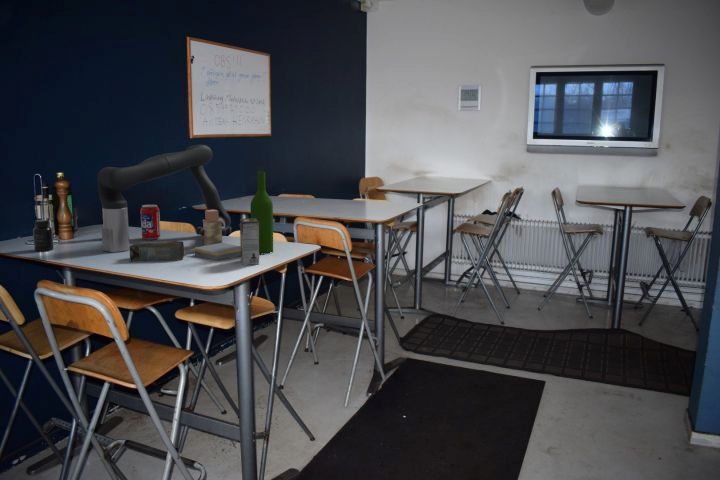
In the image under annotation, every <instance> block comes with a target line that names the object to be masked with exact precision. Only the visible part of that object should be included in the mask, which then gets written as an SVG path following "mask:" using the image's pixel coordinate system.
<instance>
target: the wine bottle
mask: <svg viewBox="0 0 720 480" xmlns="http://www.w3.org/2000/svg"><path fill="white" fill-rule="evenodd" d="M250 218H257V220H258V222H259V253H269V254H271V253H270V252H272V253H274V205H273V200H272V199H271V197H270V196H269V194H268V193H267V191H266V172H265V171H257V191H256V193H255V194H254V196H253V198H252V199H251V201H250Z"/></svg>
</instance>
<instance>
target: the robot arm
mask: <svg viewBox="0 0 720 480" xmlns="http://www.w3.org/2000/svg"><path fill="white" fill-rule="evenodd" d="M212 159H213V151H212V149H211V147H209V146H208V145H206V144H201V143H200V144H195V145H189V146H188V147H187V148H186V149H185V150H184V151H176V152H169V153H162V154H158V155H155V156H151V157H148V158H146V159H145V160H143V161H141V162H140V163H137V164H136V165H131V166H126V167H114V166H107V167H103V168H102V169H101V170H99V172H98V174H97V175H98V176H97V189H98V195H99V197H98V198H99V200H100V202H101V207H102V220H103V221H102V222H103V225H104V227H103V226H102V227H101V241H102V244H101V245H102V251H104V252H109V253H117V252H125V251H126V252H127V251H130V250H129V247H130V246H131V244H130V234H129V232H130V230H129V215H128V213H129V212H128V202H127V200H126V199H125V198H124V196H123V194H122V191H124V190H126V189H129V188H132V187H134V186H136V185H138V184H140V183H144V182H149V181H153V180H157V179H161V178H165V177H169V176H171V175H173V174H177V173H178V172H181V171H183V170H186V169H188V168H189V169H190V171H191V173H192V176H193V177H194V180H195V181H196V184H197V185H198V186H197V187H199V190H200V192H201V195H202V198H203V201H204V204H205V207H206V210H218V215H219V220H222V221H221V227H222V237H224V236H225V235H226V234H227V235H231V234H232V226H231V224H232V223H231V222H232V220H231V219H232V218H231V217H230V215H229V213H228V212H227V209H225V207H224V205H223V204H222V200H221V197H220V195H219V192H218V189H217V188H216V186H215V185H214V183H213V182H212V180H211V179H210V178H209V176H208V175H207V173H206V171H205V168H204V166H205V165H208V164H209V163H210V162H211V161H212ZM196 235H198V236H199V235H200V236H202V237H204V228H203V227H201V226H197V228H196Z"/></svg>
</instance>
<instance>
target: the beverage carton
mask: <svg viewBox="0 0 720 480" xmlns="http://www.w3.org/2000/svg"><path fill="white" fill-rule="evenodd" d="M129 246H130V247H129V250H128V251H129V261H130V262H131V263H132V262H133V263H134V262H135V263H136V262H157V261H158V262H163V261H183V260H184V259H183V258H184V257H185V246H184V241H178V240H174V241H173V240H172V241H163V242H160V241H159V242H135V243H134V242H133V243H131V244H130V245H129Z"/></svg>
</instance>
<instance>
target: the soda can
mask: <svg viewBox="0 0 720 480" xmlns="http://www.w3.org/2000/svg"><path fill="white" fill-rule="evenodd" d="M160 218H161V216H160V208H159V207H158V205H157V204H144V205H143V204H142V205H141V208H140V225H141V226H140V228H141V229H140V230H141V238H142V239H143V240H145V239H146V240H147V241H154V240H158V239H159V238H161V221H160V220H161V219H160ZM146 240H145V241H146Z"/></svg>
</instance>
